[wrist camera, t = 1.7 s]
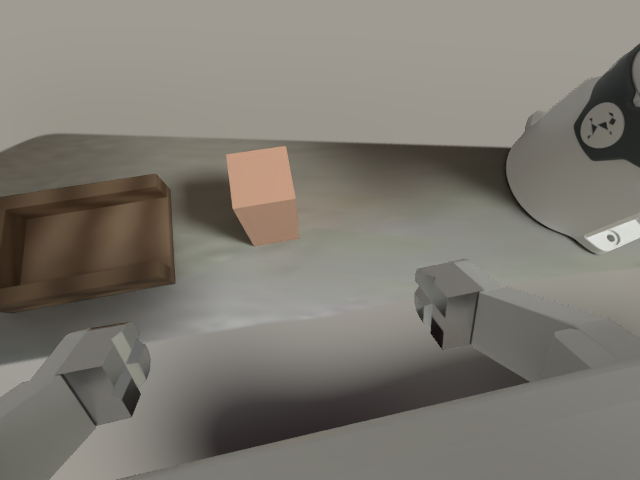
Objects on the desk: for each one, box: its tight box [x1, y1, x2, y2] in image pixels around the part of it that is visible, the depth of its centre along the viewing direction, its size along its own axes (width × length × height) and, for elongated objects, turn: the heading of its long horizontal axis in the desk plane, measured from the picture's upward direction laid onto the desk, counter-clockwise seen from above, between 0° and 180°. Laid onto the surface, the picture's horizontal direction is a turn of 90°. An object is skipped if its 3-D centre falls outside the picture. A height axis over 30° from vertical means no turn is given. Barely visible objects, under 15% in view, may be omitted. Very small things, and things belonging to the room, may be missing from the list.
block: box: [226, 146, 300, 246], centre depth 30 cm, size 5×5×10 cm
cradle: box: [0, 174, 175, 313], centre depth 32 cm, size 16×11×4 cm
